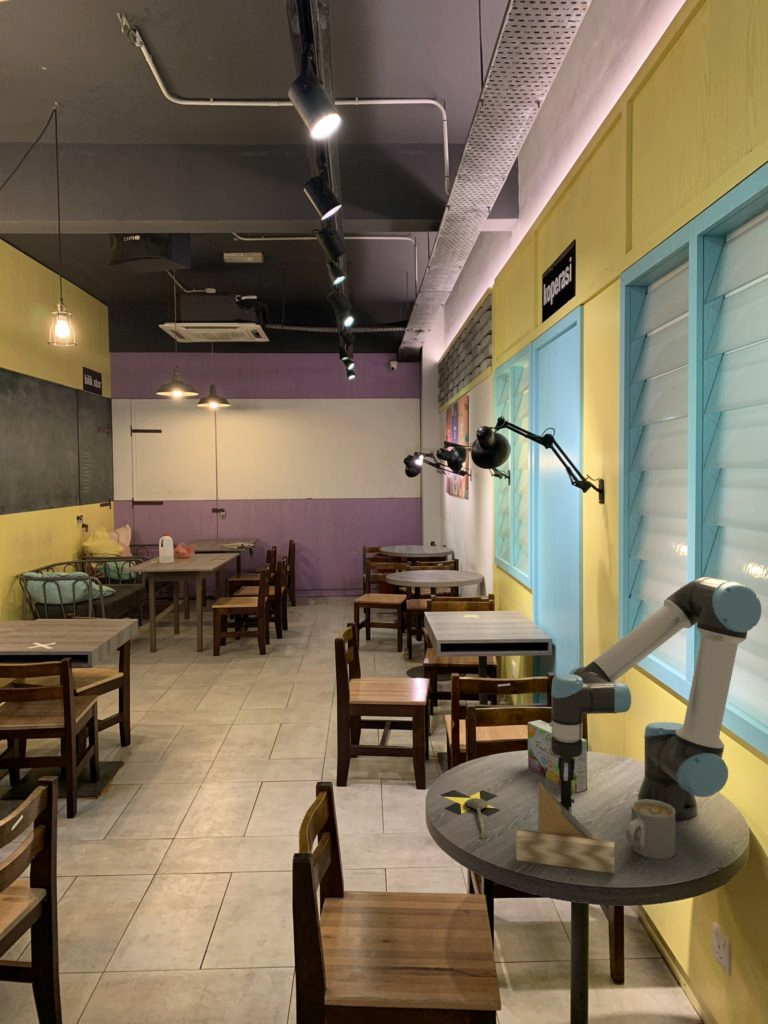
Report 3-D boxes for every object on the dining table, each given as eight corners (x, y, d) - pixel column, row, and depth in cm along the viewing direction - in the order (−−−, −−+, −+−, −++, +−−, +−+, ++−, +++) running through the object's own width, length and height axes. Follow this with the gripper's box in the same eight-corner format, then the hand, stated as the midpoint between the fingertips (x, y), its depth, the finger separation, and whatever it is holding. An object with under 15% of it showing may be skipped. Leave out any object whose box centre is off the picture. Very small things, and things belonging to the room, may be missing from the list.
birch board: (614, 866, 166) (614, 841, 166) (615, 873, 163) (615, 847, 163) (516, 853, 172) (516, 829, 172) (515, 859, 169) (515, 834, 169)
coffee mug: (656, 836, 181) (657, 797, 180) (684, 855, 171) (684, 814, 171) (611, 844, 177) (611, 804, 176) (636, 864, 167) (636, 821, 167)
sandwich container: (610, 858, 170) (611, 795, 170) (546, 858, 170) (546, 796, 169) (599, 840, 179) (599, 781, 178) (538, 841, 178) (538, 781, 178)
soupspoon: (487, 804, 202) (464, 805, 202) (486, 792, 202) (463, 793, 202) (496, 839, 180) (469, 840, 180) (495, 826, 180) (469, 827, 180)
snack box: (526, 769, 225) (526, 721, 224) (540, 766, 227) (540, 719, 227) (574, 794, 206) (574, 742, 206) (588, 790, 209) (589, 739, 208)
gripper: (552, 727, 187) (551, 816, 188) (550, 744, 175) (549, 839, 176) (582, 730, 185) (581, 819, 186) (581, 747, 173) (581, 843, 174)
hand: (565, 829), depth 181 cm, fingers closed
